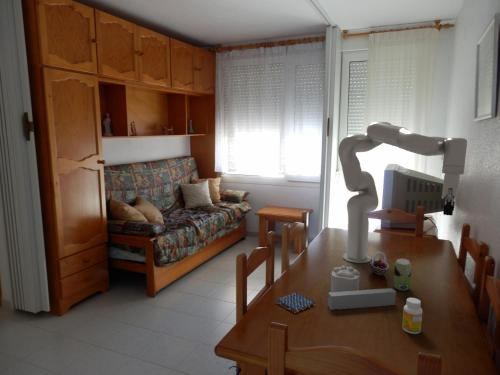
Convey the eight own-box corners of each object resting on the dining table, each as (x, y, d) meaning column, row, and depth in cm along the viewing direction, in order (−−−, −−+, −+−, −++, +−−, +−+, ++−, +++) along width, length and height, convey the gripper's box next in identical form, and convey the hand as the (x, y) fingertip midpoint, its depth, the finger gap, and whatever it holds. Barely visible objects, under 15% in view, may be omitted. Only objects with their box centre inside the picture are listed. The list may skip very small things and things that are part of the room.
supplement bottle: (398, 325, 117) (400, 296, 115) (415, 324, 117) (417, 296, 116) (407, 334, 112) (409, 304, 110) (424, 334, 112) (426, 304, 111)
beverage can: (409, 286, 147) (411, 257, 145) (410, 294, 140) (413, 264, 138) (392, 284, 149) (394, 255, 147) (393, 291, 142) (395, 261, 140)
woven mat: (274, 304, 132) (274, 298, 131) (295, 296, 138) (295, 291, 138) (294, 315, 124) (295, 310, 123) (316, 307, 130) (316, 301, 130)
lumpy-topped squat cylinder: (328, 294, 139) (329, 272, 138) (334, 281, 151) (335, 261, 150) (357, 298, 135) (358, 276, 134) (360, 285, 147) (361, 264, 146)
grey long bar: (327, 305, 130) (328, 292, 129) (390, 301, 134) (391, 288, 133) (331, 309, 127) (331, 296, 126) (394, 304, 131) (395, 291, 130)
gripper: (443, 167, 152) (439, 207, 155) (440, 171, 137) (436, 215, 140) (464, 168, 148) (460, 209, 151) (463, 172, 133) (458, 218, 136)
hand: (448, 212), depth 145 cm, fingers open, 9 cm apart
